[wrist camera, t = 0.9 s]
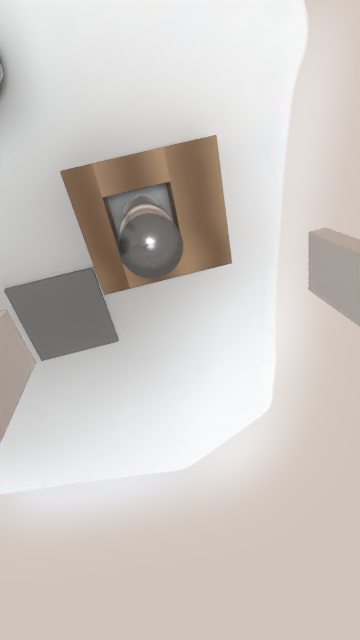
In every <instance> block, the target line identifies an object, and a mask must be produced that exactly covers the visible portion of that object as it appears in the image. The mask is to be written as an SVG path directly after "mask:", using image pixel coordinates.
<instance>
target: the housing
mask: <svg viewBox="0 0 360 640" xmlns="http://www.w3.org/2000/svg"><path fill="white" fill-rule="evenodd" d="M60 173H61V175H62V178H63V181H64V184H65V187H66V189H67V192H68V195H69V198H70V201H71V203H72V206H73V209H74V212H75V215H76V217H77V220H78V223H79V226H80V229H81V231H82V234H83V237H84V240H85V242H86V245H87V248H88V251H89V254H90V256H91V259H92V262H93V265H94V268H95V270H96V273H97V276H98V279H99V282H100V284H101V287H102V290H103V293H104V295H106V294H110V293H114V292H118V291H122V290H126V289H130V288H134V287H138V286H142V285H146V284H150V283H154V282H158V281H162V280H166V279H170V278H174V277H178V276H182V275H186V274H190V273H194V272H198V271H203V270H207V269H211V268H215V267H219V266H223V265H227V264H231V263H232V260H231V251H230V243H229V235H228V227H227V219H226V210H225V202H224V194H223V186H222V178H221V169H220V161H219V153H218V145H217V137H216V135H214V136H209V137H205V138H201V139H197V140H192V141H188V142H184V143H179V144H175V145H171V146H166V147H162V148H158V149H154V150H149V151H145V152H141V153H136V154H132V155H128V156H123V157H119V158H115V159H110V160H106V161H102V162H98V163H93V164H89V165H85V166H80V167H76V168H72V169H67V170H63V171H60ZM162 183H166V184H167V189H168V194H169V199H170V204H171V208H172V213H173V218H174V223H175V226H176V227H177V228H178V230H179V232H180V234H181V236H182V240H183V254H182V257H181V260H180V262H179V263H178V265H177V266H176V268H175V269H174V270H173V271H171V272H170V273H168V274H167V275H165V276H163V277H159V278H152V279H150V278H143V277H140V276H138V275H135V274H134V273H132V272H131V271H130V270H129V269H128V268H127V267H126V266H125V264H124V263H123V261H122V259H121V256H120V253H119V238H118V235H117V232H116V228H115V225H114V222H113V218H112V215H111V212H110V208H109V205H108V202H107V198H106V197H107V196H111V195H115V194H120V193H124V192H128V191H132V190H136V189H141V188H145V187H149V186H153V185H158V184H162Z"/></svg>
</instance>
